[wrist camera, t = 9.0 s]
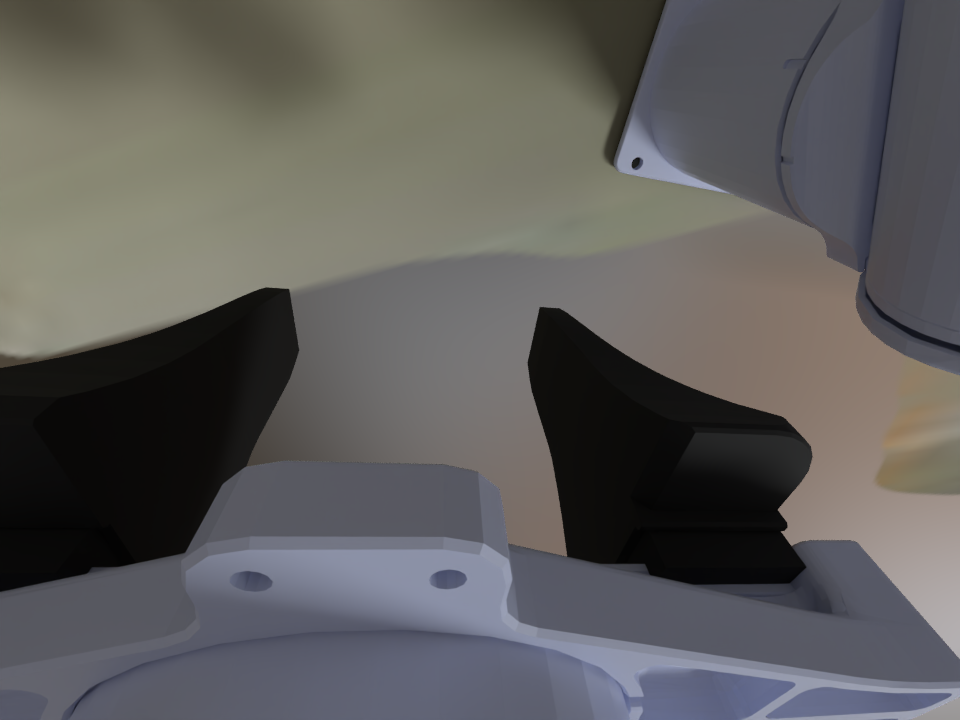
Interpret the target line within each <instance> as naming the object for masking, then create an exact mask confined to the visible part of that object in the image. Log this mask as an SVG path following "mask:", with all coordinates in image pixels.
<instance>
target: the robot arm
mask: <svg viewBox="0 0 960 720" xmlns="http://www.w3.org/2000/svg"><path fill="white" fill-rule="evenodd" d="M637 157H639V159H640V162H639V164H638V166H637V167H635V168H632V166H631V165H632V161H633V160H634V159H635V158H637ZM614 167H615V169H616V170H617V171H619V172H621V173H624V174H630V175H635V176H640V177H645V178H650V179H656V180H661V181H666V182H671V183H677V184H682V185H687V186H692V187H697V188H703V189H708V190H713V191H718V192H723V193H729V194H733V195H736V196H738V197H740V198H743V199H745V200H748V201H750V202H752V203H755V204H757V205H759V206H762V207H764V208H767V209H769V210H771V211H774V212H776V213H779V214H781V215H783V216H786V217H788V218H791V219H793V220H795V221H798V222H800V223H802V224H805V225H807V226H810V227H812V228H815V229H816V230H817V231H818V232H820V233H821V235H822V236H823V238H824V240H825V243H826V246H827V256H828V257H829V258H831V259H833V260H835V261H837V262H840V263H842V264H844V265H846V266H848V267H850V268H852V269H854V270H856V271H858V272H863V271H864V272H863V273H862V274H861V275H860V279H859V283H858V288H857V292H856V308H857V311H858V314H859V316H860V318H861V320H862V322H863V323H864V325H865V326H866V327H867V328H868V329H869V330H870V332H871V333H872V334H873V335H875V336H876V337H877V338H879V339H880V340H881V341H883V342H884V343H885V344H886V345H888V346H890V347H891V348H893V349H895V350H897V351H899V352H900V353H902V354H904V355H906V356H908V357H910V358H913V359H915V360H917V361H920V362H922V363H925V364H927V365H929V366H932V367H935V368H938V369H941V370H945V371H948V372H951V373H954V374H957V375H960V0H666V3H665V6H664V9H663V12H662V15H661V18H660V21H659V24H658V27H657V30H656V33H655V36H654V39H653V42H652V45H651V48H650V51H649V54H648V57H647V61H646V64H645V67H644V70H643V73H642V76H641V79H640V82H639V85H638V88H637V91H636V94H635V97H634V100H633V103H632V106H631V109H630V112H629V115H628V118H627V121H626V124H625V127H624V130H623V133H622V136H621V139H620V142H619V145H618V148H617V151H616V155H615V158H614ZM864 269H865V270H864ZM298 352H299V347H298V340H297V334H296V328H295V323H294V316H293V310H292V304H291V298H290V292H289V289H280V288H263V289H259V290H256V291H254V292H251V293H249V294H246V295H244V296H242V297H240V298H237V299H235V300H233V301H231V302H228V303H226V304H224V305H222V306H219V307H217V308H215V309H213V310H210V311H208V312H206V313H203V314H201V315H198V316H196V317H193V318H191V319H188V320H186V321H183V322H181V323H178V324H176V325H173V326H171V327H168V328H165V329H163V330H160V331H157V332H154V333H151V334H148V335H145V336H141V337H138V338H135V339H132V340H128V341H125V342H122V343H118V344H114V345H110V346H106V347H102V348H98V349H94V350H90V351H85V352H81V353H78V354H73V355H69V356H64V357H59V358H54V359H49V360H44V361H39V362H33V363H28V364H22V365H16V366H10V367H4V368H0V720H911V719H913V718H915V717H918V716H920V715H922V714H924V713H926V712H928V711H931V710H933V709H935V708H937V707H939V706H942V705H944V704H946V703H948V702H950V701H952V700H955V699H957V698H959V697H960V659H959V658H958V657H957V656H956V655H955V653H954V652H953V651H952V650H951V649H950V648H949V646H947V644H946V643H945V642H944V641H943V640H942V639H941V637H940V636H939V635H938V634H937V633H936V632H935V630H933V628H932V627H931V626H930V625H929V624H928V623H927V621H926V620H925V619H924V618H923V617H922V616H921V615H920V613H919V612H918V611H917V610H916V609H915V608H914V607H913V605H912V604H911V603H910V602H909V601H908V600H907V599H906V598H905V596H904V595H903V594H902V593H901V592H900V591H899V589H898V588H897V587H896V586H895V585H894V584H893V583H892V582H891V581H890V579H889V578H888V577H887V576H886V575H885V574H884V572H883V571H882V570H881V569H880V568H879V567H878V566H877V564H876V563H875V562H874V561H873V560H872V559H871V558H870V556H869V555H868V554H867V553H866V552H865V551H864V550H863V549H862V547H861V546H860V545H859V544H858V543H857V542H855V541H851V540H809V541H802V542H800V543H797V544H795V545H793V546H791V545H790V544H789V542H788V541H787V540H786V538H785V537H784V536H783V534H782V533H781V531H785V529H786V528H787V522H786V521H785V519H784V518H783V517H782V516H781V514H780V513H779V511H778V508H779V507H780V506H781V505H782V504H783V502H784V501H785V500H786V499H787V498H788V497H789V496H790V494H791V493H792V492H793V491H794V490H795V489H796V487H797V486H798V485H799V484H800V482H801V481H802V480H803V478H804V477H805V475H806V474H807V472H808V471H809V467H810V464H811V460H812V451H811V446H810V445H809V444H808V443H807V441H806V440H805V439H804V438H803V437H802V436H801V435H800V434H799V433H798V432H797V431H796V429H795V428H794V427H792V425H791V424H789V423H788V421H787V420H786V419H785V418H783V417H781V416H778V415H774V414H771V413H767V412H763V411H760V410H756V409H753V408H749V407H746V406H742V405H738V404H735V403H732V402H729V401H726V400H723V399H720V398H717V397H714V396H712V395H709V394H706V393H703V392H701V391H698V390H696V389H693V388H690V387H688V386H686V385H683V384H681V383H679V382H677V381H674V380H672V379H670V378H667V377H665V376H663V375H661V374H659V373H657V372H655V371H653V370H651V369H650V368H648V367H646V366H644V365H642V364H640V363H639V362H637V361H635V360H633V359H632V358H630V357H628V356H627V355H625V354H624V353H622V352H621V351H619V350H617V349H616V348H614V347H613V346H611V345H610V344H609V343H607V342H606V341H604V340H603V339H601V338H600V337H599V336H597V335H596V334H594V333H593V332H592V331H591V330H589V329H588V328H587V327H585V326H584V325H583V324H581V323H580V322H578V321H577V320H576V319H575V318H573V317H572V316H570V315H569V314H568V313H566V312H565V311H563V310H561V309H559V308H546V307H540V309H539V313H538V318H537V322H536V327H535V332H534V336H533V341H532V345H531V350H530V354H529V359H528V370H529V377H530V383H531V389H532V393H533V396H534V399H535V403H536V406H537V410H538V413H539V416H540V419H541V423H542V426H543V429H544V432H545V436H546V439H547V442H548V445H549V449H550V453H551V457H552V461H553V467H554V472H555V478H556V483H557V488H558V495H559V501H560V507H561V513H562V520H563V528H564V535H565V543H566V550H567V557H566V556H562V555H557V554H553V553H548V552H544V551H539V550H534V549H530V548H526V547H521V546H516V545H512V544H508V542H507V533H506V526H505V519H504V512H503V505H502V500H501V495H500V489H499V488H498V487H497V486H495V485H494V484H493V483H491V482H490V481H489V480H488V479H486V478H485V477H484V476H482V475H481V474H480V473H478V472H476V471H473V470H469V469H464V468H459V467H454V466H449V465H444V464H409V463H364V462H323V461H322V462H321V461H280V462H274V463H267V464H261V465H254V466H249V467H246V466H247V463H248V461H249V458H250V455H251V453H252V450H253V448H254V446H255V444H256V442H257V440H258V438H259V436H260V434H261V432H262V430H263V428H264V426H265V425H266V423H267V421H268V419H269V417H270V415H271V413H272V411H273V410H274V408H275V406H276V404H277V401H278V400H279V398H280V396H281V394H282V392H283V391H284V389H285V387H286V385H287V383H288V381H289V379H290V376H291V374H292V371H293V368H294V365H295V362H296V359H297V355H298Z"/></svg>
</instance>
